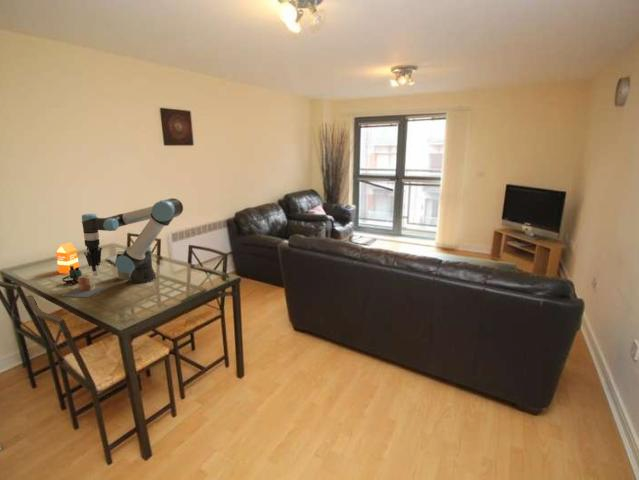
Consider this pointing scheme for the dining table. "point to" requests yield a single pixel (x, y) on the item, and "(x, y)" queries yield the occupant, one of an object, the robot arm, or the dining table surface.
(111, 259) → the tablet
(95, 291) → the mat
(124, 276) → the travel mug
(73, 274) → the binoculars
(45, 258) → the dining table surface
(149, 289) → the dining table surface
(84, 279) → the wooden block
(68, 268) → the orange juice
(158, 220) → the robot arm
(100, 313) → the dining table surface
